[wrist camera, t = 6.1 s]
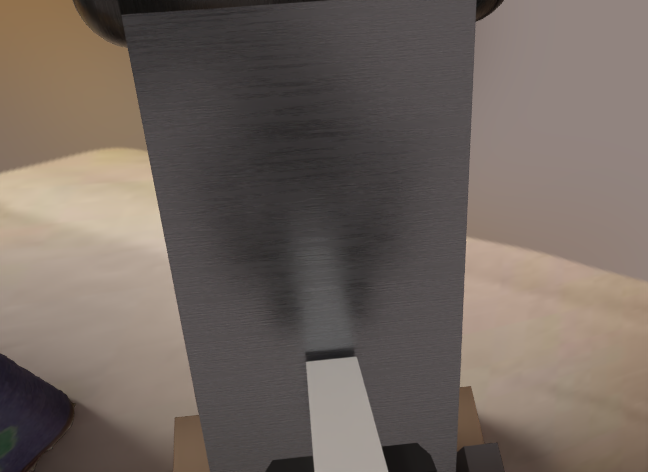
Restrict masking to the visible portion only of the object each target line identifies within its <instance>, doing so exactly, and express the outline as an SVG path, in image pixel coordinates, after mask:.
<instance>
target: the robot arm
mask: <svg viewBox="0 0 648 472" xmlns="http://www.w3.org/2000/svg"><path fill="white" fill-rule="evenodd" d="M306 370H307V383H308V395H309V408H310V421H311V434H312V447H313V456H305V457H296V458H287V459H278V460H272V462H271V463H270V465H269V466H268V468H267V470H266V471H265V472H437V469H436V467H435V464H434V462H433V459H432V457H431V455H430V454H429V453H428V452H427V451H426V450H425V449H423V448H422V447H421V446H420V445H419V444H418V443H409V444H400V445H391V446H382V447H381V443H380V440H379V436H378V432H377V429H376V425H375V421H374V418H373V414H372V410H371V407H370V403H369V400H368V396H367V392H366V389H365V385H364V381H363V378H362V374H361V370H360V367H359V363H358V359H357V357H348V358H338V359H329V360H319V361H309V362H306Z"/></svg>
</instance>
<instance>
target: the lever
mask: <svg viewBox="0 0 648 472" xmlns="http://www.w3.org/2000/svg"><path fill="white" fill-rule="evenodd" d="M503 1H504V0H73V2H74V5H75V7H76V9H77V11H78V13H79V15H80V16H81V18H82V19H83V21H84V22H85V23H86V25H87V26H88V27H89V28H90V29H91V30H92V31H93V32H94V33H96V34H97V35H99V36H100V37H102V38H103V39H104V40H106V41H108V42H110V43H112V44H115V45H117V46H121V47H126V48H128V51H129V56H130V62H131V67H132V72H133V77H134V82H135V88H136V92H137V98H138V103H139V108H140V113H141V118H142V123H143V128H144V134H145V139H146V144H147V149H148V155H149V160H150V165H151V170H152V175H153V180H154V186H155V191H156V196H157V201H158V206H159V211H160V216H161V222H162V227H163V232H164V237H165V242H166V247H167V253H168V258H169V263H170V268H171V273H172V278H173V283H174V289H175V294H176V299H177V304H178V309H179V314H180V320H181V325H182V330H183V335H184V340H185V345H186V351H187V356H188V361H189V366H190V371H191V376H192V381H193V387H194V392H195V397H196V402H197V407H198V412H199V418H200V423H201V428H202V433H203V438H204V443H205V448H206V454H207V459H208V464H209V469H210V472H265V471H266V470H267V468H268V466H269V465H270V463H271V462H272V460H278V459H287V458H296V457H305V456H313V447H312V434H311V421H310V408H309V395H308V383H307V370H306V362H309V361H319V360H329V359H338V358H348V357H357V359H358V363H359V367H360V370H361V374H362V378H363V381H364V385H365V389H366V392H367V396H368V400H369V403H370V407H371V410H372V414H373V418H374V421H375V425H376V429H377V432H378V436H379V440H380V443H381V447H382V446H391V445H400V444H409V443H418V444H419V445H420V446H421V447H422V448H423V449H425V450H426V451H427V452H428V453H429V454H430V455H431V457H432V459H433V462H434V464H435V467H436V469H437V472H456V458H457V435H458V412H459V389H460V366H461V343H462V320H463V297H464V274H465V251H466V228H467V227H466V226H467V204H468V182H469V158H470V135H471V113H472V90H473V67H474V43H475V22H476V21H479V20H481V19H483V18H485V17H486V16H488V15H489V14H491V13H492V12H493V11H494V10H496V8H498V6H500V4H502V2H503Z"/></svg>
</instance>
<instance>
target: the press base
mask: <svg viewBox="0 0 648 472" xmlns="http://www.w3.org/2000/svg"><path fill="white" fill-rule="evenodd" d="M173 472H210V469H209V464H208V459H207V454H206V448H205V443H204V438H203V433H202V428H201V423H200V418H199V415H194V416H185V417H175V427H174V460H173ZM456 472H505V471H504V467H503V463H502V459H501V455H500V451H499V447H498V443H489V444H484V440H483V435H482V431H481V427H480V423H479V418H478V414H477V410H476V406H475V402H474V397H473V393H472V389H471V386H468V387H460V389H459V412H458V435H457V458H456Z"/></svg>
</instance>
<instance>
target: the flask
mask: <svg viewBox="0 0 648 472" xmlns="http://www.w3.org/2000/svg"><path fill="white" fill-rule="evenodd" d="M75 405H76V403H72V402H70V400H69V398H68V397H67V395H66V394H64V393H63V392H62V391H61V390H58V389H56V388H55V387H54V386H52V385H50V384H49V383H47V382H45V381H44V380H42V379H41V378H39V377H37V376H35V375H34V374H32V373H31V372H29V371H28V370H26V369H24V368H22V367H20V366H19V365H17V364H16V363H15V362H14V361H12V360H11V359H9V358H7V357H6V356H4V355H2V354H0V472H30V471H34V468H35V466H36V464H37V462H38V459H39V458H40V457H41V456H42V455H43V453H45V452H47V451H48V450H50V449H53V448H52V447H53V446H54V445H55V443H56V442H57V440H59V439H60V438H61V437H62V436H63V435H64V433H65V432H66V431H67V430H68V429H69V428H70V427H71V426H72V421H73V417H74V415H73V414H74V407H75Z"/></svg>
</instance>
